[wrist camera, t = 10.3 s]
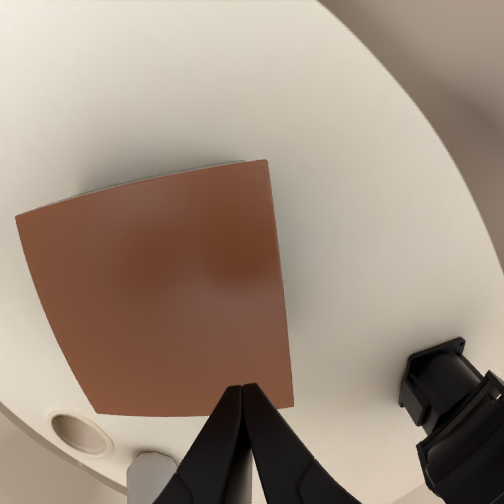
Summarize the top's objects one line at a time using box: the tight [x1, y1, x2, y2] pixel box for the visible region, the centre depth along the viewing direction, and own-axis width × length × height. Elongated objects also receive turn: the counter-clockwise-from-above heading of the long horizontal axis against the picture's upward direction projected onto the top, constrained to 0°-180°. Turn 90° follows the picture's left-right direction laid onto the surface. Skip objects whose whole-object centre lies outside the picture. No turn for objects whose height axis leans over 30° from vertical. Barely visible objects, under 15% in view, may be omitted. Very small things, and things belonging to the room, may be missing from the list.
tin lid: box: [15, 159, 294, 417], centre depth 12 cm, size 11×12×1 cm
